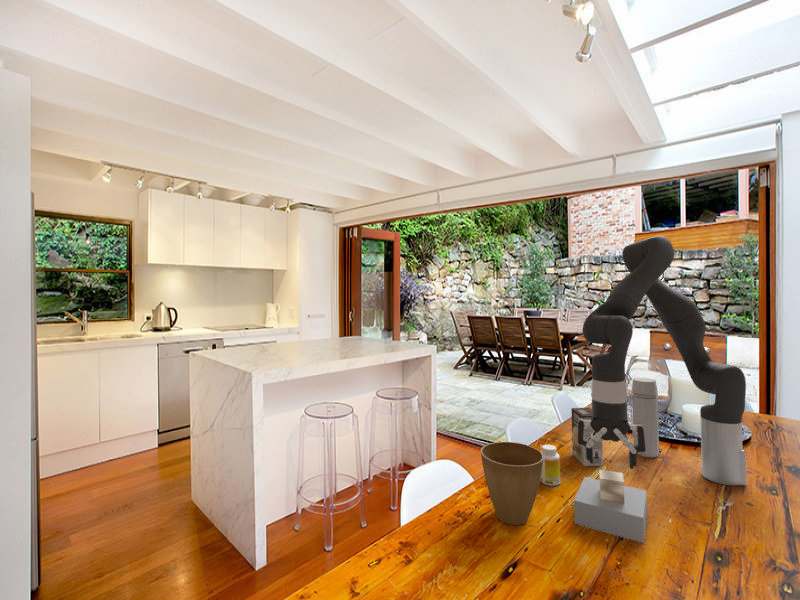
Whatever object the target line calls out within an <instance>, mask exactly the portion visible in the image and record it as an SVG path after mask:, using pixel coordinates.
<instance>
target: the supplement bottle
mask: <svg viewBox="0 0 800 600" xmlns="http://www.w3.org/2000/svg"><path fill="white" fill-rule="evenodd" d="M540 452H541V453H542V454H543V456H544V458H543V465H542V472H541V478H540V483H542V484H544V485H545V486H549V487H551V486H552V487H555V486H558V485H559V484H561V461H560V459H561V458H560V454H559V453H558V450H557V446H555V445H553V444H542V445H541V451H540Z"/></svg>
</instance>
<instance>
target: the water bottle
mask: <svg viewBox="0 0 800 600" xmlns="http://www.w3.org/2000/svg"><path fill="white" fill-rule="evenodd" d="M658 393H659V392H658V387H657V381H656V380H655V379H653V378H650V377H649V378H648V377H634V378H632V383H631V392H629V393H628V395H629V401H632V409H630V411H627V417H629V415H630V414H631V415H630V417H631V421H632V424H633V425H636V424H637V423H640V424H642V427H643V429H644V439H645V449H646V450H645V452H638V453H637V454H636V455H638V456H640V457H644V458H651V459H652V458H653V459H654V458H657V457H658V456H659V455H660V443H659V441H660V440H659V439H660V438H659V437H660V436H659V435H660V434H659V432H660V431H659V404H658V403H659V397H658V395H659V394H658ZM628 404H629V405H628V407H631V402H629V403H628ZM629 413H630V414H629ZM628 433H629V432H628ZM628 433H627V434H626V436H627V437H628V438H629V439H630V438H632V437H633V445H638V439H637V435H636V434H634V432H633V430H631V435H630V436H629V434H628Z"/></svg>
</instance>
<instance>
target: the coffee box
mask: <svg viewBox="0 0 800 600" xmlns="http://www.w3.org/2000/svg"><path fill="white" fill-rule="evenodd" d="M570 410H571V439H572V440H571V441H572V442H571V444H572V445H571V446H572V450H571V451H572V455H573V456H574V458H576V459H577V461H578V462H580V464H582V465H583V467H598V466H599V467H600V466H601V467H602V466H603V465H604V459H603V458H604V457H603V456H604V455H603V453H604V451H603V450H604V449H603V439H601V438H600V439H599V440H598V441H597V442H596V443H595V444H594V445H593V446H592V450H593V464H592V463H590V461H588V460H587V458H586V447H585V446H584V445H580V444H578V422H579V418H583V419H584V420H590V421H591V419H592V407H573V408H571V409H570ZM593 432H594V430H593V428H592V427H591V425H589V426H588V427H587V429H584V434H583V438H584V439H586V440H587V439H588V438H589V437H590V436H591V434H592V433H593Z"/></svg>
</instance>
